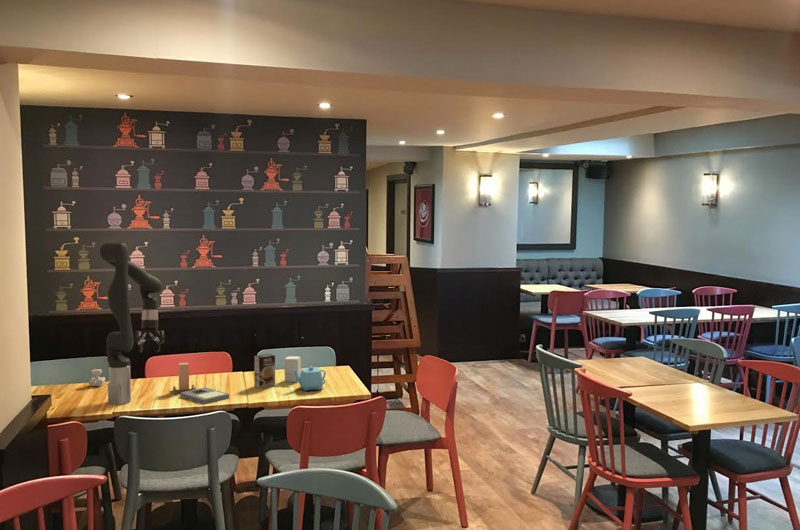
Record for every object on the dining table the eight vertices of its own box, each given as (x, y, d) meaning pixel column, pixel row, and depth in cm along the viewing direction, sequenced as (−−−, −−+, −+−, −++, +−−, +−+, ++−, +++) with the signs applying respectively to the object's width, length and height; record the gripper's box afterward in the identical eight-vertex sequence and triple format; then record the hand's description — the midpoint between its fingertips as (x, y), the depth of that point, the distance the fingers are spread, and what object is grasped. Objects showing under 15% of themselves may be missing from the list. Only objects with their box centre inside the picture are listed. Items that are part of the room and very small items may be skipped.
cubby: (195, 392, 322) (195, 388, 322) (174, 394, 319) (174, 390, 318) (193, 388, 331) (193, 384, 331) (172, 390, 327) (172, 386, 327)
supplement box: (301, 379, 352) (301, 356, 351) (297, 382, 345) (297, 359, 344) (287, 378, 353) (287, 355, 352) (284, 382, 346) (284, 358, 345)
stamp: (102, 387, 331) (101, 371, 331) (88, 388, 330) (87, 372, 329) (106, 383, 340) (105, 367, 339) (92, 384, 338) (92, 368, 338)
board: (229, 398, 313) (229, 393, 312) (204, 404, 302) (203, 399, 302) (205, 391, 325) (205, 386, 325) (180, 396, 315) (180, 392, 314)
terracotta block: (189, 391, 324) (188, 364, 323) (179, 392, 322) (179, 364, 321) (188, 389, 328) (187, 362, 327) (178, 390, 326) (178, 363, 325)
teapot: (288, 387, 334) (288, 365, 334) (323, 384, 340) (323, 363, 340) (293, 393, 323) (293, 370, 322) (328, 390, 329) (328, 368, 328)
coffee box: (259, 388, 331) (259, 357, 330) (254, 386, 336) (253, 355, 335) (275, 385, 337) (275, 355, 336) (269, 383, 342) (269, 353, 341)
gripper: (132, 319, 318) (131, 352, 316) (160, 318, 317) (159, 351, 315) (139, 320, 325) (139, 352, 323) (167, 319, 324) (166, 351, 322)
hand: (149, 352), depth 319 cm, fingers open, 8 cm apart
